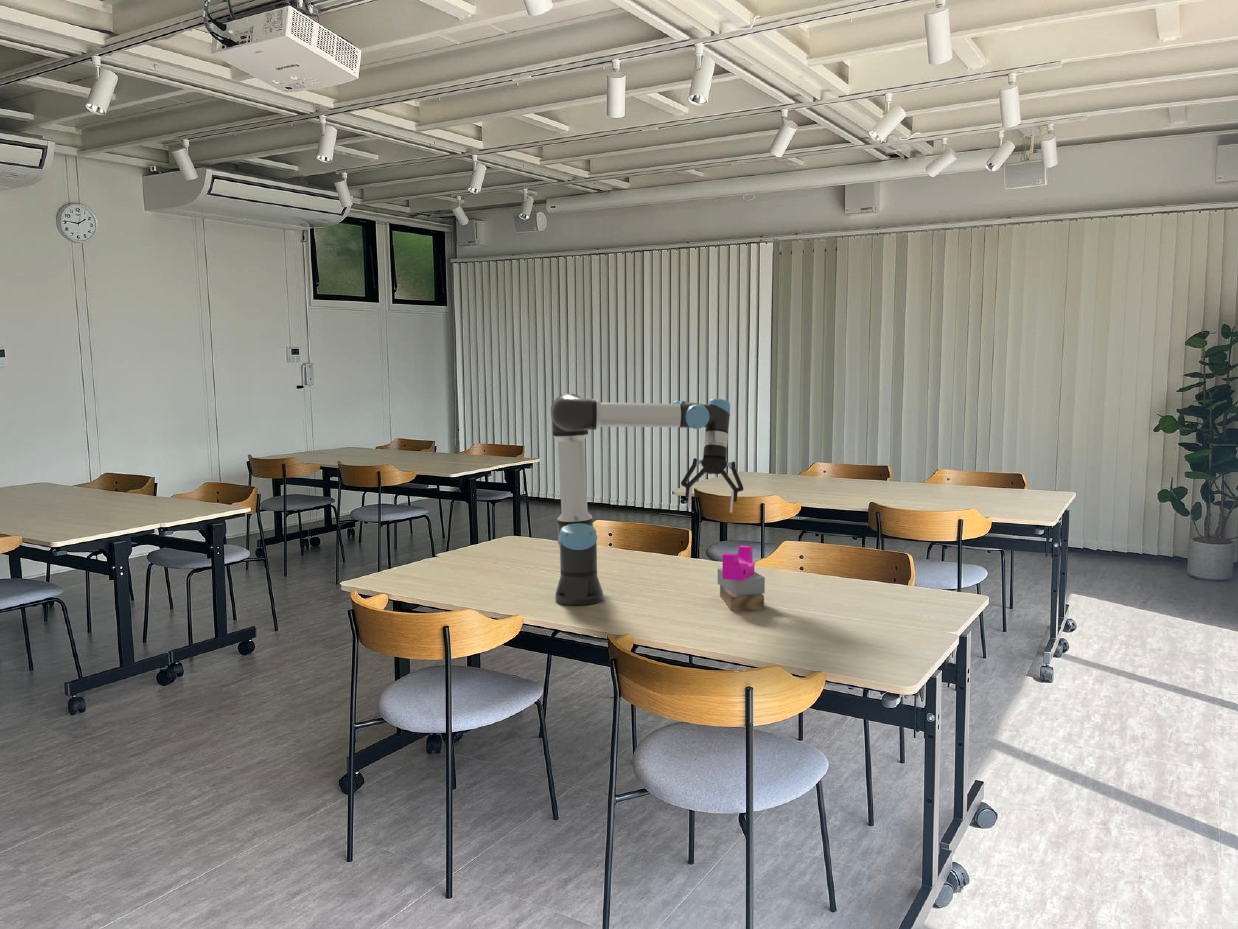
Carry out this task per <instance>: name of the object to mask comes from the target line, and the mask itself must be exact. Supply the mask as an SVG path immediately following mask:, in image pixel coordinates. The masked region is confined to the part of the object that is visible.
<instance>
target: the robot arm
mask: <svg viewBox="0 0 1238 929" xmlns="http://www.w3.org/2000/svg"><path fill="white" fill-rule="evenodd" d="M550 417H551V427H552V428H551V430H552V437H553V438H554V439H555V440H556V441H557V451H558V452H557V454H558V470H559V488H560V489H559V490H560V491H559V492H560V506H561V507H560V508H561V514H560V515H559V516H558V517H557V543H558V546H559V558H560V559H559V560H560V561H559V562H560V563H559V564H560V565H559V569H560V576H559V580H558V584H557V587H556V591H555V594H554V595H555V596H554V597H555V602H557V603H558V604H562V605H565V606H566V605H567V606H587V605H594V604H597V603H600V602H602V601H603V600H604V592H603V588H602V586H601V582H600V579H599V577H598V551H597V550H598V549H597V548H598V547H597V546H598V544H597V543H598V542H597V541H598V534H597V529H596V528H595V527H594V519H593V516H592V514H591V513H589V511H588V493H587V477H586V476H587V475H586V474H587V472H586V457H585V456H586V454H585V453H586V452H585V439H586V438H587V437H588V436H589V431H590V430H591V431H597V430H599V428H600V427H602V428H605V427H606V428H608V427H609V428H613V427H614V428H620V427H621V428H631V427H632V428H683V429H684V428H685V429H687V428H688V429H695V430H696V429H697V430H699V429H702V428H705V433H704V442H703V443H704V444H703V445H704V446H703V454H702V455H703V456H702V459H697V458H696V457H694V458H693V460H692V465H691V466H690V467H689V469H688V471H686V472H687V473H686V474H685V475H684V477H683V479H682V480H681V482H680V485H681V487H684V488H685V493H684V494H685V495H684V496H685V498H686V499H688V500H687V509H690V510H691V506H692V504H691V503H692V494H693V485H694V484H696V482H698V481H699V480H700V479H701V478H702V477H703V476H704V475H705V474H708V475H717V476H718V475H721V476H722V477H723V479H724V480H725V481H726V483H727V484H728V485H729V487H730V488H731V489H732V490H731V493H730V505H729V506H730V507H729V513H733V508H734V507H733V506H734V503H737V502H738V493H739V492H743V491H744V487H743V483H742V481H741V478H740V476H739V473H738V470H737V468H736V462H735V461H728V462H727V453H728V448H727V447H728V441H729V440H728V439H729V426H730V417H731V404H730V402H729V401H728V400H726V399H722V398H712V399H709V400H708V402H707V404H704V403H697V402H689V401H684V400H674V401H673V403H656V402H655V403H654V402H653V403H652V402H649V403H647V402H603V401H602V402H601V401H599V399H597V398H585V397H581V396H579V395H578V394H575V393H569V392H568V393H563V394H561V395H558V396H557V397H556V398H555V399H554V400H553V402H552V404H551V406H550ZM699 465H701V467H703V468H702V469H701V470H700V471H699V472H698V473H697V474H696V475H695V476H693V477H692V478H691V476H692V474H693V473H694V471H695V470H696V467H698V466H699ZM727 467H728V469H729V470H731V473H732V475H733V477H734V480H735V482H736V484H737V486H736V485H735V484H734V482H733V481H732V479H731V478H730V476H729V475H728V474H727V472H726V471H725V469H726V468H727ZM690 478H691V480H689V479H690Z"/></svg>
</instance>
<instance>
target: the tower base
mask: <svg viewBox="0 0 1238 929" xmlns="http://www.w3.org/2000/svg"><path fill="white" fill-rule="evenodd" d="M719 597H720V598H721V600H722V601H723V600H724V601H723V603H724V602H725V603H726V604H725V603H724V604H725V605H726V607H727V606H728V607H727V609H728V610H730V612H731V611H736V612H755V611H756V612H758V611H759V612H761V611H765V596H764V594H753V595H741V596H736V595H735V594H733V593H732V592H730V591H729V590H727V589H725V588H724V587H722V586H721V585H719Z"/></svg>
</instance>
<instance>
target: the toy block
mask: <svg viewBox="0 0 1238 929" xmlns="http://www.w3.org/2000/svg"><path fill="white" fill-rule="evenodd" d="M721 568H722V579H728V580H737V581H743V580H745V579H746V578H748V577H750V576H751V575H753V574H754V572H755V562H753V546H751V545H750V546H749V545H739V546H738V551H737V553H732V552H725V553H723V554H722V567H721Z"/></svg>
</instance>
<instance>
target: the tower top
mask: <svg viewBox="0 0 1238 929" xmlns="http://www.w3.org/2000/svg"><path fill="white" fill-rule="evenodd" d="M765 581H766V578H765V576H763V575H761V574H759V573H758V572H756V571H754V574H753V575H751V576H750V577H748V578H746V579H745V580H743V581H737V580H728V579H722V567H718V568H717V584H718V585H719V586H720V585H721V586H722V587H724V588H725V589H727V590H729V591H730V592H732V593H733V594H735V595H736V596H741V595H753V594H763V595H765V593H766V592H765V590H766V589H765V588H766V586H765V583H766V582H765Z"/></svg>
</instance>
